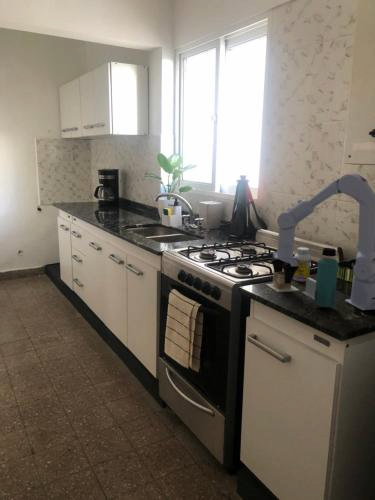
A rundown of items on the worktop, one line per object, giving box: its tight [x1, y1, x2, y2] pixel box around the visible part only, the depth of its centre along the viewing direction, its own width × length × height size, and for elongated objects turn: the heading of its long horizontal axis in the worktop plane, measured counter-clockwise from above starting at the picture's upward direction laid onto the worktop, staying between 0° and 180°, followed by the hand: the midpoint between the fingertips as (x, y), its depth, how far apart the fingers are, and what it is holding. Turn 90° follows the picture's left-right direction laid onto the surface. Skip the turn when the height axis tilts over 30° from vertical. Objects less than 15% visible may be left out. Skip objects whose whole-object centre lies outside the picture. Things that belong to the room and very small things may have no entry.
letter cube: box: [272, 271, 293, 289], centre depth 157 cm, size 5×5×5 cm
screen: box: [302, 277, 316, 302], centre depth 148 cm, size 8×3×6 cm, turn 16°
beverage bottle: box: [313, 247, 339, 308], centre depth 135 cm, size 6×7×20 cm
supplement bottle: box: [292, 246, 312, 282], centre depth 168 cm, size 7×7×13 cm
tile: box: [265, 283, 300, 293], centre depth 158 cm, size 9×9×1 cm
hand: (282, 280), depth 157 cm, fingers open, 7 cm apart
